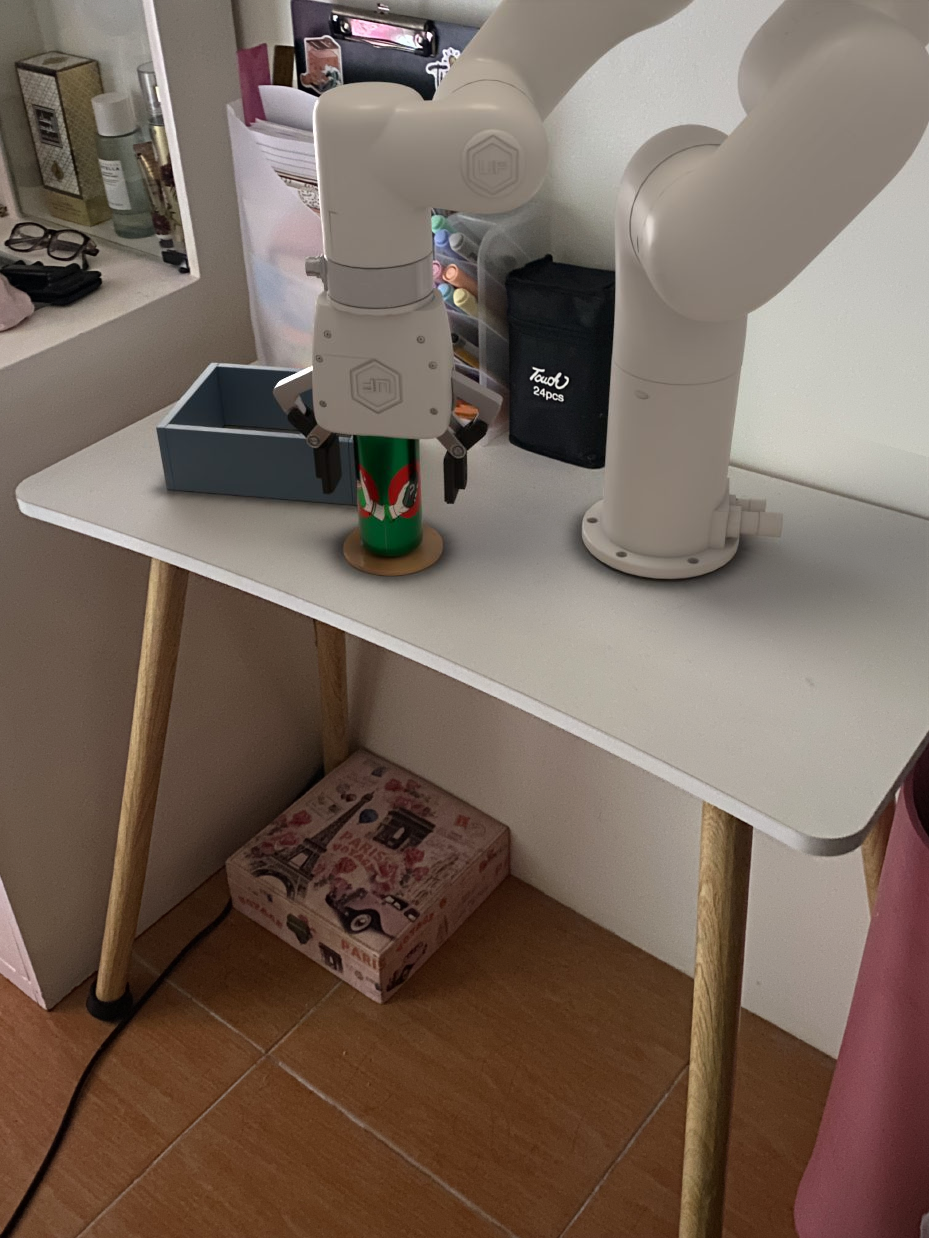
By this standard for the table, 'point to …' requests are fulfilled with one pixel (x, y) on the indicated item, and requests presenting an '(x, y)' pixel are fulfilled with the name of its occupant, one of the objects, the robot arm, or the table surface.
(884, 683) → the table surface
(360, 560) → the coaster
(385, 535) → the soda can
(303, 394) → the frame
